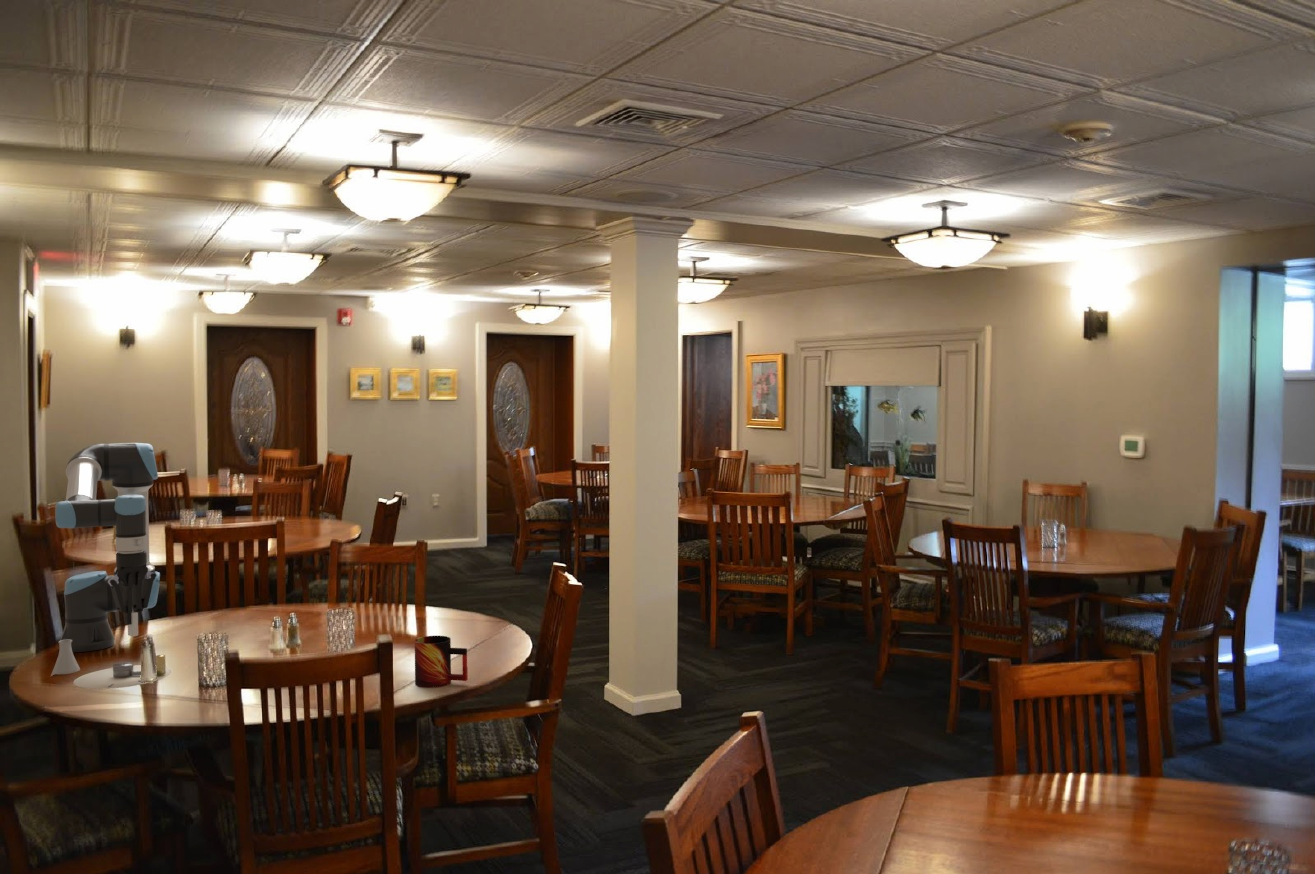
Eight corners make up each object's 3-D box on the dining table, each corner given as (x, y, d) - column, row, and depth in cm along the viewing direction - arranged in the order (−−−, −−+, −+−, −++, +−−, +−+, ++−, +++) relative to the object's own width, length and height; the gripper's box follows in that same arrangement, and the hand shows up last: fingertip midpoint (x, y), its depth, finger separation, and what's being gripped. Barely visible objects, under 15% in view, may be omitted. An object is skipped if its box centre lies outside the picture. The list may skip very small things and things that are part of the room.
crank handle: (109, 677, 275) (109, 659, 275) (117, 673, 280) (117, 654, 280) (161, 676, 277) (161, 657, 277) (168, 671, 282) (168, 653, 282)
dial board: (93, 671, 288) (93, 666, 288) (182, 667, 292) (182, 662, 292) (58, 695, 264) (58, 690, 264) (155, 690, 268) (155, 685, 268)
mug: (467, 685, 273) (467, 641, 272) (415, 689, 269) (415, 644, 269) (465, 675, 282) (464, 633, 282) (414, 679, 278) (414, 636, 278)
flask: (67, 679, 280) (66, 644, 279) (45, 678, 281) (44, 642, 281) (86, 672, 287) (86, 638, 286) (64, 671, 288) (64, 637, 288)
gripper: (114, 555, 269) (116, 642, 271) (161, 549, 280) (163, 632, 281) (100, 552, 273) (102, 637, 275) (147, 546, 284) (149, 628, 285)
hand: (133, 635), depth 278 cm, fingers closed
